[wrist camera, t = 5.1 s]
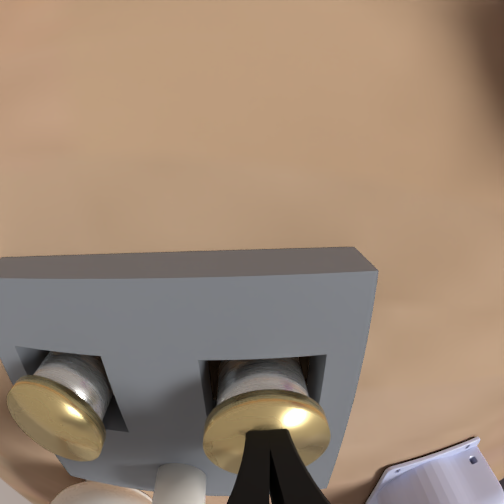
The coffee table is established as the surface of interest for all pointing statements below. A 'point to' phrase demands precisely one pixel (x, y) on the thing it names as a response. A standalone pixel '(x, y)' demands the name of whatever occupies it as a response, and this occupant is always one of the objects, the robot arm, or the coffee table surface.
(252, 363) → the knob
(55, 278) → the mount plate
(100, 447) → the knob
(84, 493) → the lidded jar
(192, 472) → the potentiometer
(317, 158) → the coffee table surface
